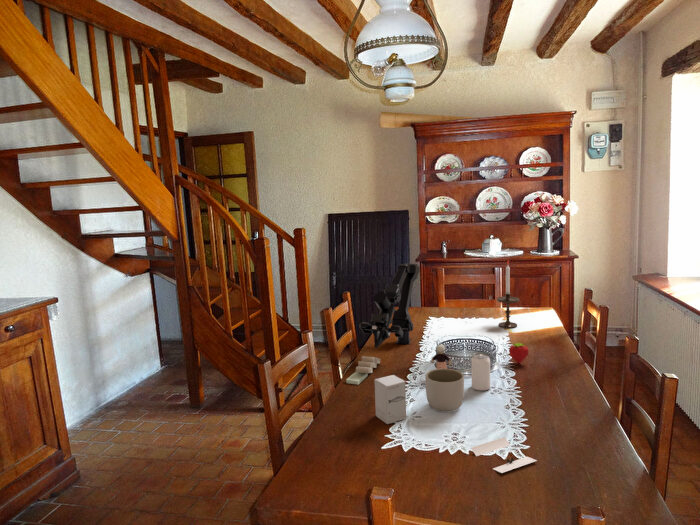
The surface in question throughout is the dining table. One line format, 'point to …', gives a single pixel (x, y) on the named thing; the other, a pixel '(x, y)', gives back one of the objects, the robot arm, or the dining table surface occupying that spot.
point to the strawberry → (518, 352)
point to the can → (480, 372)
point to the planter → (445, 389)
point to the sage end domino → (356, 378)
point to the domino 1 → (370, 359)
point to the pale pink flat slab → (497, 445)
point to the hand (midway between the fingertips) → (375, 347)
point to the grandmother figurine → (441, 358)
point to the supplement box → (390, 399)
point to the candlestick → (507, 301)
